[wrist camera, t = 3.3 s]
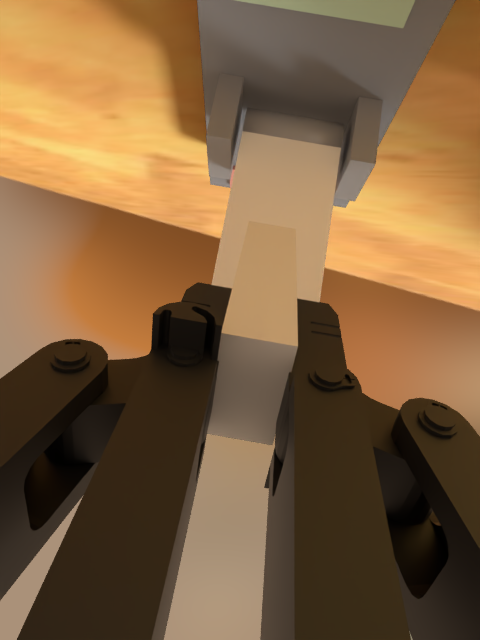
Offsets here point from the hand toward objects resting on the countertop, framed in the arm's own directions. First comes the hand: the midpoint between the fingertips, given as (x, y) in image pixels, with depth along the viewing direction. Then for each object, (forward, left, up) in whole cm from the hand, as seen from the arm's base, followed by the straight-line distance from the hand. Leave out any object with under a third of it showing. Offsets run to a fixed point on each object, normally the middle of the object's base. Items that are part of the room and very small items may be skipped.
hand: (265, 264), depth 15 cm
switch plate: (-5, +5, -15) cm, 16 cm away
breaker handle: (-5, +5, -11) cm, 13 cm away
